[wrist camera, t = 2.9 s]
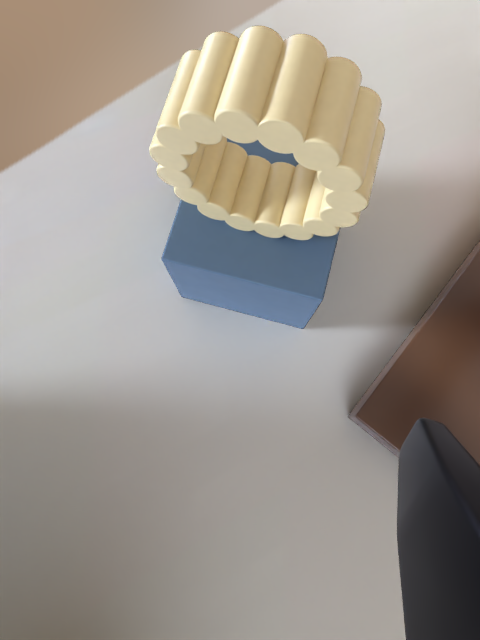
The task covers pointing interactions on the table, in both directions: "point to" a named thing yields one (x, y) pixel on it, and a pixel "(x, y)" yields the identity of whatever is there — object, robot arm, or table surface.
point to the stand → (433, 370)
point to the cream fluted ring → (270, 134)
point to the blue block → (248, 262)
